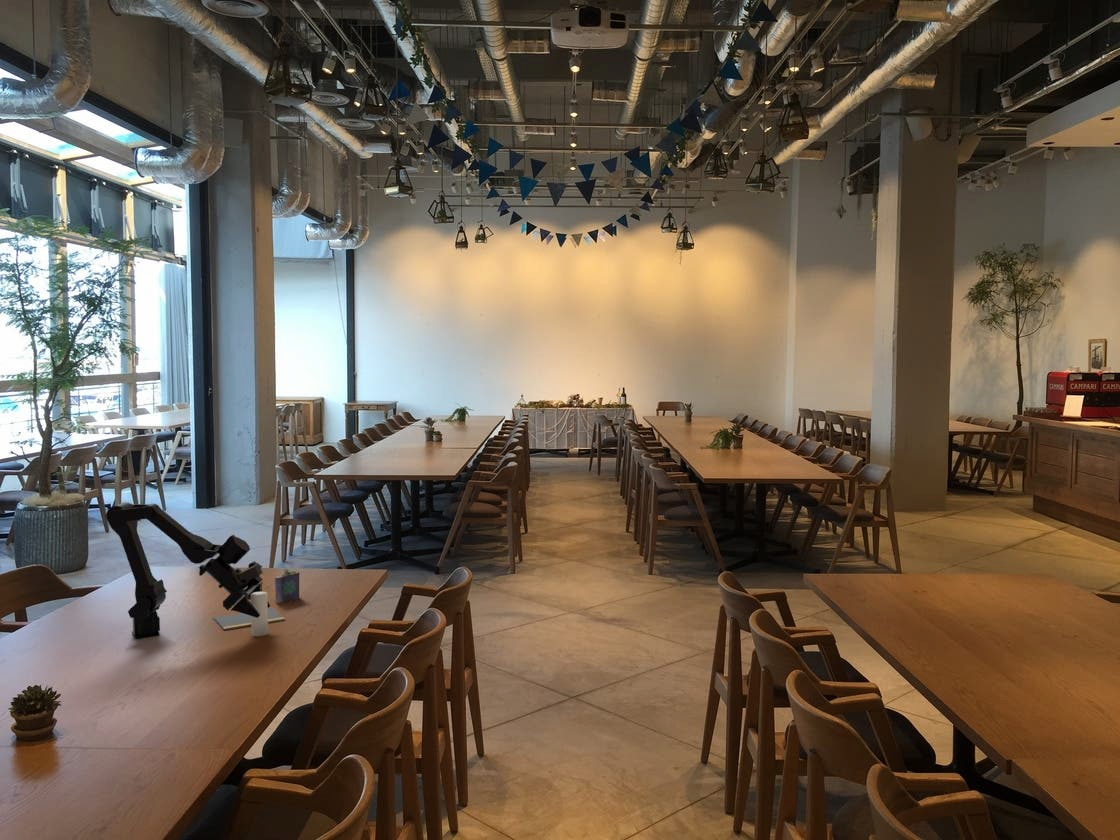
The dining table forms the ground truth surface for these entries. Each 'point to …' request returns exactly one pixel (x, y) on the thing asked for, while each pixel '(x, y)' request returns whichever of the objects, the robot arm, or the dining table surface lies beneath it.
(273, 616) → the mat
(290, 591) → the flask
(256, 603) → the skittle
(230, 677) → the dining table surface
